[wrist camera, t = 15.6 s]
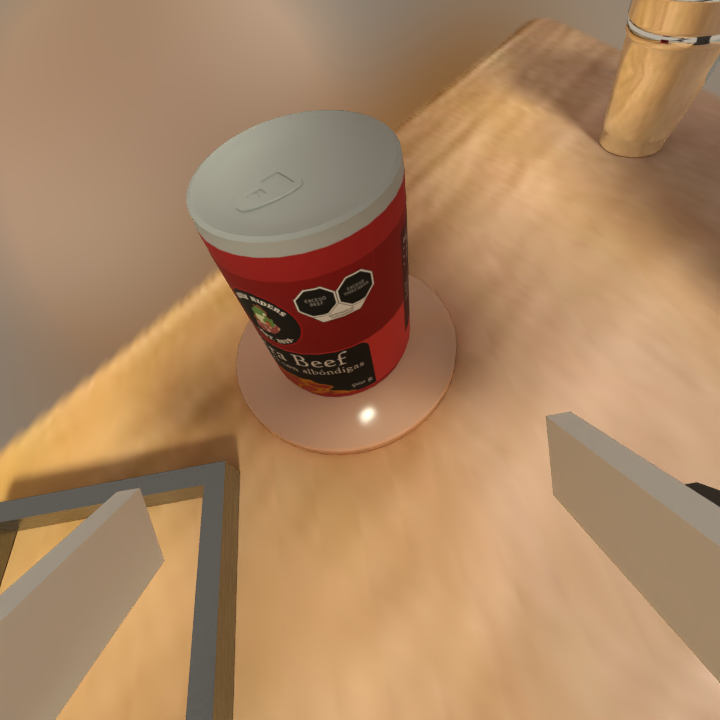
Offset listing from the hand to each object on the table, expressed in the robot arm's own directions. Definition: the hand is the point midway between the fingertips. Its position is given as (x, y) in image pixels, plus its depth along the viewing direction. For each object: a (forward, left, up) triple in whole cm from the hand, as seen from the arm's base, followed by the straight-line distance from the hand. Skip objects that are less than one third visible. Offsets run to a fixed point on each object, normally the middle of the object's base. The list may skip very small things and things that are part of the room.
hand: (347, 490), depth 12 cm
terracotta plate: (-6, -8, -7) cm, 12 cm away
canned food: (-6, -8, -6) cm, 12 cm away
